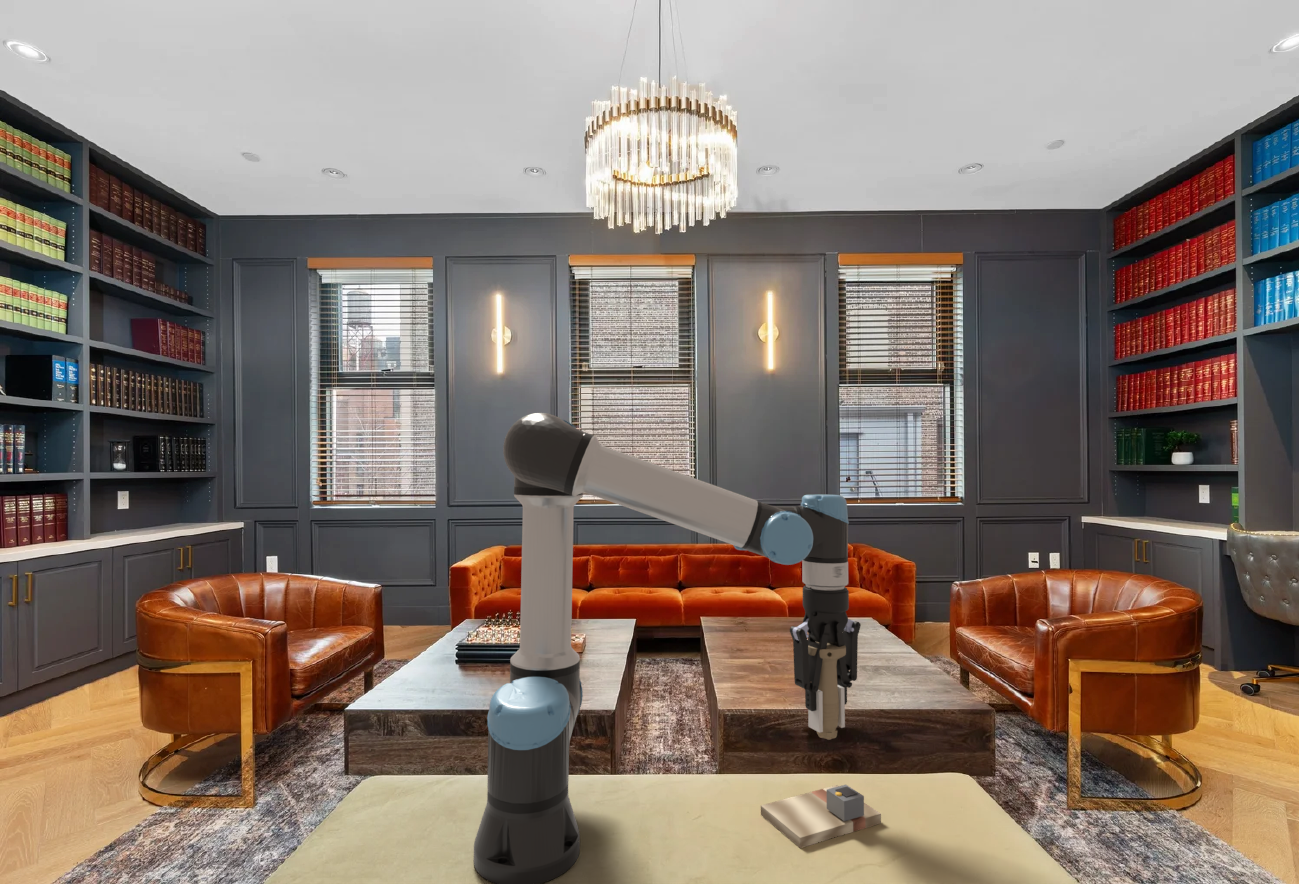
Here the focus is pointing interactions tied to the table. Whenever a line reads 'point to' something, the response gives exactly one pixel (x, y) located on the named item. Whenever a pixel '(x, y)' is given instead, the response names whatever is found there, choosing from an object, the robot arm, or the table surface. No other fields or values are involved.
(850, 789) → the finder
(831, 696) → the handle
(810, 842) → the plank
